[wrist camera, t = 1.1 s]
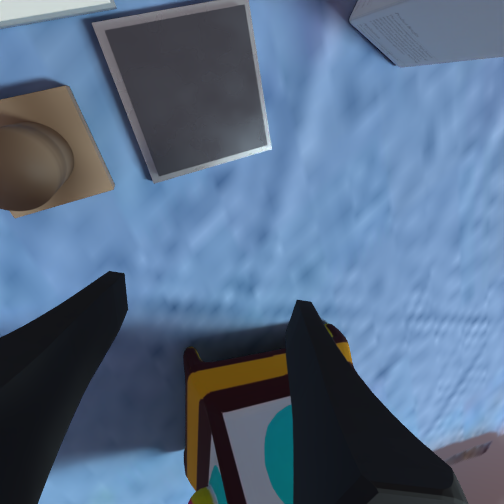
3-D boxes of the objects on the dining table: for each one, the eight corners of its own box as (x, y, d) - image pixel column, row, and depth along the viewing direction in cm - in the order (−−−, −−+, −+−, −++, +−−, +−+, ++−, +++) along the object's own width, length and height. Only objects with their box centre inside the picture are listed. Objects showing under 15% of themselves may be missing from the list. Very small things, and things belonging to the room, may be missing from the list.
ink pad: (153, 181, 21) (154, 185, 20) (92, 25, 16) (90, 20, 15) (268, 147, 22) (274, 150, 21) (244, -3, 18) (250, -9, 17)
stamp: (22, 210, 19) (-19, 251, 14) (-45, 111, 16) (-128, 117, 11) (115, 184, 20) (108, 212, 15) (69, 86, 17) (41, 81, 12)
